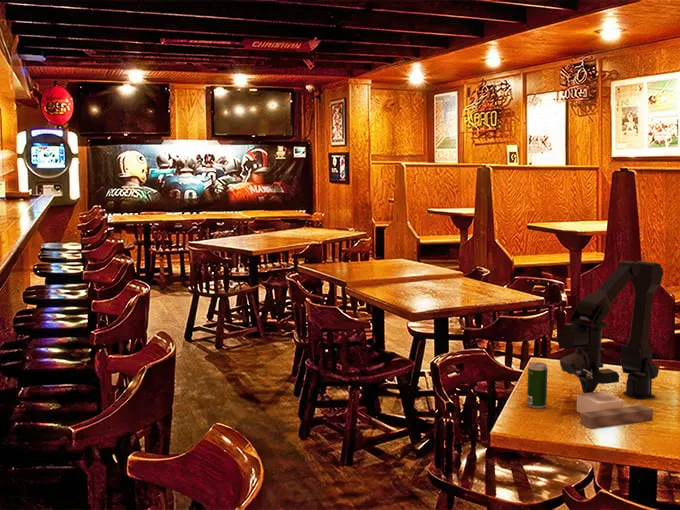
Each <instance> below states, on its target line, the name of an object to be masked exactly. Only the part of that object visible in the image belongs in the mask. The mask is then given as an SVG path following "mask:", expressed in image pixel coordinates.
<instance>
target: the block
mask: <svg viewBox="0 0 680 510" xmlns="http://www.w3.org/2000/svg"><path fill="white" fill-rule="evenodd" d="M622 407H624V400H623V399H620V397H616V396H613V395H612V394H609V393H607V392H604V391H602V390H600V391H594V392H590V393H577V394H576V412H577V413H578V412H579V413H578V414H580V413H585V412H592V411H600V410H607V409H615V408H622Z"/></svg>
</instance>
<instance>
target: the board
mask: <svg viewBox="0 0 680 510" xmlns="http://www.w3.org/2000/svg"><path fill="white" fill-rule="evenodd" d="M653 418H654V408H652V407H649V406H647V405H644V404H640V405H633V406H632V405H631V406H623V407H622V408H615V409H607V410H600V411H592V412H585V413H581V414H580V425H581V424H582V425H581V426H583V425H584V426H583V427H585V426H586V428H587V427H588V428H587V429H589V428H590V429H589V430H592V429H591V428H593V429H599V427H601V428H606V427H607V426H608V427H613V426H614V425H615V426H621V425H628V424H634V423H635V424H636V423H643V422H649V421H653Z"/></svg>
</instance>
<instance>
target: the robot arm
mask: <svg viewBox="0 0 680 510" xmlns="http://www.w3.org/2000/svg"><path fill="white" fill-rule="evenodd" d="M663 275H664V268H663V267H662V266H661V264H660V263H658V262H653V261H651V262H650V261H644V260H643V261H642V260H637V261H627V260H623V261H620V262H619V263H618V264H617V267H616V269H615V270H614V271H613V272H612V273H611V274H610V275H608V278H606V280H605V281H604V282H603V283H602V284H601V285H600V286H599V287H598V289H596V290H595V291H594V292H591V293H587V294H586V295H585V296H583V297H582V298H581V299H580V300H579V301H578V302H577V305H576V307H575V308H574V310H573V312H572V315H571V317H570V318H569V320H568V323H563V328H562V329H560V330H559V332H558V334H557V342H558V344H559V346H560V348H562V349H563V350H572V349H574V353H569V354H568V355H565V356H562V357H561V358H560V359H559V366H560V368H561V370H562V372H565V373H567V374H568V375H573V376H575V377H577V379H578V380H579V382H580V386H581V389H582V392H583V393H590V392H595V390H596V388H597V387H598V385H599V384H600V385H605V384H615V383H617V384H618V383H619V382H620V374H619V373H618V372H617V371H616V370H613V369H610V368H604V363H602V362H601V354H604V353H605V349H604V348H602V337H603V333H602V332H603V329H606V328H608V325H607V324H606V322H604V320H605V319H606V317H607V316H608V315H609V313H610V311H611V304H612V302H614V300H615V298H617V296H618V295H619V294H620V293H621V291H622V290H624V288H625V287H626V285H628V284H629V282H631V285H632V287H633V289H634V292H635V293H634V300H633V306H632V307H633V308H632V316H631V317H632V318H631V325H630V335H629V340H628V341H627V342H626V344H625V345H623V344H622V345H621V348H620V355H619V360H620V365H621V370H622V373H623V374H627V379H626V382H625V383H626V387H625V389H626V390H623V392H622V393H623V394H625V395H626V396H629V397H632V398H634V399H636V400H643V399H649V398H650V399H651V398H655V397H656V394H653V393H652V387H653V380H654V379H656V378H657V377H658V376H659V372H660V370H659V368H658V367H657V365H656V364H655V362H654V361H653V351H652V348H651V345H650V344H649V334H650V328H651V327H650V326H651V320H652V310H653V302H654V301H653V300H654V294H655V293H656V291H657V290H658V289H659V288H660V286H661V285H662V279H663ZM601 368H602V369H601Z"/></svg>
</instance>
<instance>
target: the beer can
mask: <svg viewBox="0 0 680 510" xmlns="http://www.w3.org/2000/svg"><path fill="white" fill-rule="evenodd" d="M548 369H549V368H548V365H547V363H544V362H539V361H533V362H529V363H528V366H527V383H526V386H527V387H526V388H527V389H526V404H527V407H529V408H533V409H538V410H539V409H540V410H541V409H544V408H546V406H547V395H548V392H547V391H548V371H549V370H548Z"/></svg>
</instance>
